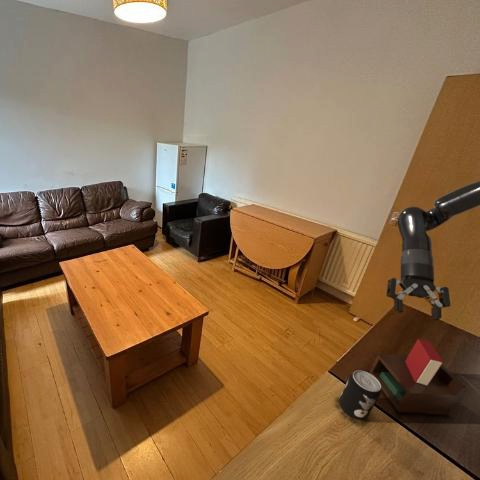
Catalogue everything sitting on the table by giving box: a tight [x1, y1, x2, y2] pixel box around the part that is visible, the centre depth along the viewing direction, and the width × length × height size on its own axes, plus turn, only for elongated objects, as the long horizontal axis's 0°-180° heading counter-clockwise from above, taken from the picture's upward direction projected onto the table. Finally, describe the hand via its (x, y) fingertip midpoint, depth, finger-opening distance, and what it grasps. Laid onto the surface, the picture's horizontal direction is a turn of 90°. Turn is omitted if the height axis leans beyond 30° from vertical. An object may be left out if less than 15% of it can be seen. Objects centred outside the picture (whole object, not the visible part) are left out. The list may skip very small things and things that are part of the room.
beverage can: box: [338, 369, 382, 421], centre depth 67 cm, size 7×7×12 cm
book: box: [405, 338, 444, 386], centre depth 68 cm, size 3×7×9 cm, turn 156°
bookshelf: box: [368, 353, 467, 416], centre depth 71 cm, size 12×12×11 cm
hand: (417, 316), depth 77 cm, fingers open, 8 cm apart
